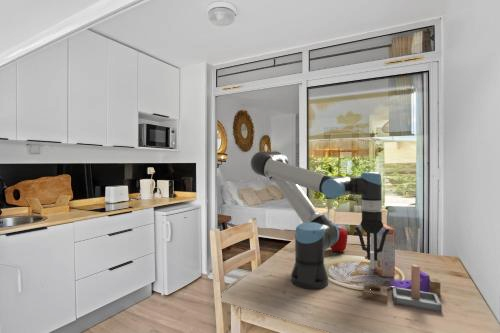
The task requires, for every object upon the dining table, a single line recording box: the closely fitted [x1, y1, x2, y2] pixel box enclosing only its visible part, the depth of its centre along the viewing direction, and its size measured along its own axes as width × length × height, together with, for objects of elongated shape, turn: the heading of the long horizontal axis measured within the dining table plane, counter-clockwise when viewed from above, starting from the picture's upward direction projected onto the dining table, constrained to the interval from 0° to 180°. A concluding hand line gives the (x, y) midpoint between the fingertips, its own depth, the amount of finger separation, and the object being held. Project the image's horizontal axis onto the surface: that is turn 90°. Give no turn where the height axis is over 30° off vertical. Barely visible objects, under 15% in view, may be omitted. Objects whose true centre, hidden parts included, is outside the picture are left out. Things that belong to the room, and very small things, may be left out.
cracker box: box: [370, 222, 396, 278], centre depth 128 cm, size 14×6×21 cm, turn 175°
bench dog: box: [429, 277, 441, 297], centre depth 107 cm, size 3×4×5 cm
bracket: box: [388, 270, 431, 293], centre depth 110 cm, size 12×7×7 cm, turn 95°
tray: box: [391, 287, 443, 313], centre depth 100 cm, size 14×9×2 cm, turn 66°
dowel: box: [410, 264, 421, 300], centre depth 100 cm, size 3×3×12 cm
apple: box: [329, 227, 349, 253], centre depth 157 cm, size 11×10×14 cm
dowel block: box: [362, 282, 389, 304], centre depth 105 cm, size 8×8×2 cm
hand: (372, 268), depth 115 cm, fingers closed
